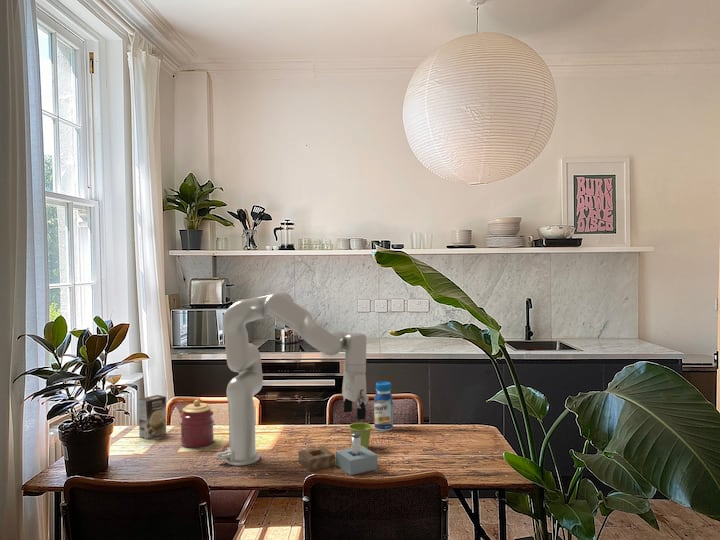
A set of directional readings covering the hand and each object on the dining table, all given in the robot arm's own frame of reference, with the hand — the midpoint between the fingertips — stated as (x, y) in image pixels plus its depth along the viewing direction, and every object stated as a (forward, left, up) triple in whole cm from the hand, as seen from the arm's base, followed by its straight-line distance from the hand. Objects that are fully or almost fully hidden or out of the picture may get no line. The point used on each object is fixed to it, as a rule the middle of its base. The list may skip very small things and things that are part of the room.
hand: (354, 415), depth 194 cm
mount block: (-10, +10, -19) cm, 23 cm away
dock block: (0, 0, -19) cm, 19 cm away
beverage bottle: (+32, +32, -19) cm, 49 cm away
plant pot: (+12, +16, -19) cm, 27 cm away
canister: (-43, +56, -19) cm, 72 cm away
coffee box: (-57, +76, -19) cm, 96 cm away
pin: (0, 0, -19) cm, 19 cm away
